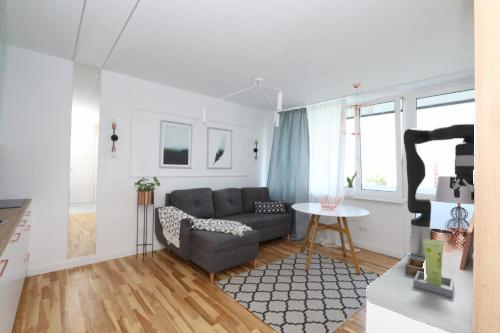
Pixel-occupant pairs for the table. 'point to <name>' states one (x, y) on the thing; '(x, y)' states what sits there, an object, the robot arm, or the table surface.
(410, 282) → the table surface
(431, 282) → the tube
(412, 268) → the wooden picture frame
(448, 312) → the table surface
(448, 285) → the tray
